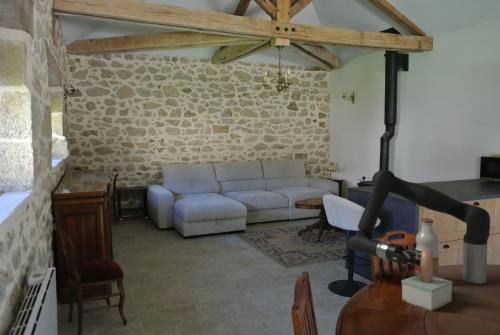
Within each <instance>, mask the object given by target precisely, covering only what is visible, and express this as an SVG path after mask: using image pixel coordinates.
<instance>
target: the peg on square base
mask: <svg viewBox="0 0 500 335" xmlns="http://www.w3.org/2000/svg"><path fill="white" fill-rule="evenodd" d="M402 283H403V284H406V285H409V286H412V287H415V288H419V289H422V290H425V291H428V292H431V293H432V292H435V291H437V290H439V289H442V288H444V287H447V286H449V285H451V284H452V285H453V281H452V280H448V279H444V278H441V277H439V276H438V277H434V276H433V251H432V250H428V249H423V250H421V274H419V275H416V276H415V275H414V276H410V277H408V278H404V279H402V280H401V284H402Z"/></svg>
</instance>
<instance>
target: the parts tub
mask: <svg viewBox="0 0 500 335" xmlns="http://www.w3.org/2000/svg"><path fill="white" fill-rule="evenodd" d="M452 286H453V283H452V284H451V285H449V286H447V287H444V288H442V289H439V290H437V291H435V292H432V293H431V292H428V291H425V290H422V289H419V288H415V287H412V286H409V285H406V284H403V283H401V287H402V288H401V290H402V291H401V297H402V298H401V301H402V300H403V301H402V302H405V301H406V303H408V304H410V303H411V305H413V304H414V305H413V306H416V305H417V306H416V307H419V306H420V308H421V307H423V308H422V309H424V308H425V309H424V310H427V309H428V311H430V310H431V311H430V312H433V311H434V309H435V310H436V309H439V308H441V307H443V306H445V305H448V304H449V303H452V292H453V291H452V289H453V288H452ZM447 303H448V304H447ZM432 310H433V311H432Z"/></svg>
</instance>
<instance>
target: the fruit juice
mask: <svg viewBox="0 0 500 335" xmlns="http://www.w3.org/2000/svg"><path fill="white" fill-rule="evenodd" d="M420 224H421V227H420V229H419V231H418V232H417V234H416V235H415V242H416V245H415V249H414V250H419V251H421V250H423V249H428V250H432V251H433V276H434V277H438V278H439V249H438V243H439V237H438V235H437V234H436V233H435V231H434V227H433V224H434V219H432V218H421V219H420ZM420 255H421V254H420ZM414 258H416V256H415V257H414ZM419 260H420V261H421V259H419ZM419 274H421V264H420V265H419V266H418V265H415V264H414V276H416V275H419Z"/></svg>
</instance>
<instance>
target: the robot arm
mask: <svg viewBox="0 0 500 335" xmlns="http://www.w3.org/2000/svg"><path fill="white" fill-rule="evenodd" d="M371 181H372V184H373V190H372V194H371V197H370V198H369V200H368V202H367V204H366V206H365V208H364V209H363V212H362V214H361V216H360V220H359V221H358V225H357V229H358V230H360V235H356V234H355V235H352V236H350V237H349V239H348V240H347V245H348V248H349V249H350V250H352V251H355V252H359V253H362V254H368V255H371V256H373V257H377V258H380V259H382V260H386V261H388V262H393V263H396V264H402V265H407V264H408V265H414V266H415V265H418V266H419V265H420V264H421V261H420V260H419V259H421V255H420V254H421V251H419V250H415V249H413V248H412V249H411V250H410V249H405V247H404V245H402V244H399V243H393V242H389V241H382V240H379V239H373V235H374V229H375V227H376V224H377V222H378V219H379V216H380V214H381V211H382V208H383V206H384V204H385V202H386V199H387V198H388V196H389V194H390V193H392V194H395V195H398V196H400V197H401V198H404V199H406V200H408V201H409V202H412V203H414V204H416V205H418V206H420V207H422V208H425V209H427V210H430V211H433V212H436V213H441V214H446V215H449V216H451V217H454V218H456V219H457V220H460V221H461V222H462V223H465V224H466V232H465V234H464V235H463V241H462V242H463V244H462V246H463V247H462V280H463V281H465V282H466V283H470V284H475V285H476V284H477V285H478V284H479V285H481V284H486V283H487V279H488V278H487V277H488V240H489V238H490V233H491V232H490V230H491V228H490V227H491V216H490V213H489V212H488V211H487V210H486V209H485V208H483V207H481V206H478V205H475V204H474V205H473V204H470V203H466V202H463V201H459V200H457V199H454V198H452V197H451V196H448V195H447V194H446V193H443V192H442V191H439V190H437V189H434V188H432V187H430V186H427V185H423V184H420V183H415V182H412V181H406V180H404V179H401V178H399V177H397V176H396V175H395V173H393V171H391V170H389V169H382V170H378V171H376V172H375V173H374V174H373V175H372V177H371ZM415 256H416V258H415Z"/></svg>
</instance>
